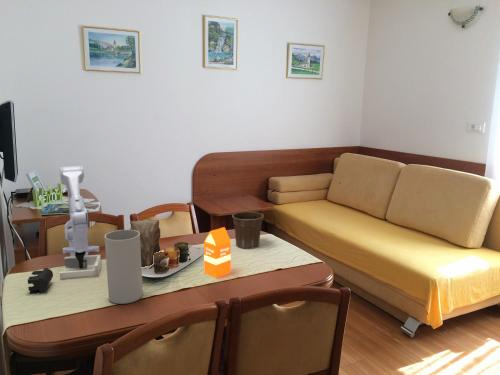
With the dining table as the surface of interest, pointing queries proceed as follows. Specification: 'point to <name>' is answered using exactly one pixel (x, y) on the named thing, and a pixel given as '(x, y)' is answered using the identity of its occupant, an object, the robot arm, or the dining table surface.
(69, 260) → the side door
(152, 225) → the brown rough block
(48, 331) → the dining table surface
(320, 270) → the dining table surface
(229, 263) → the orange juice
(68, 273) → the white open tray
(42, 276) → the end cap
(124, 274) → the cylinder vase
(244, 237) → the plant pot
